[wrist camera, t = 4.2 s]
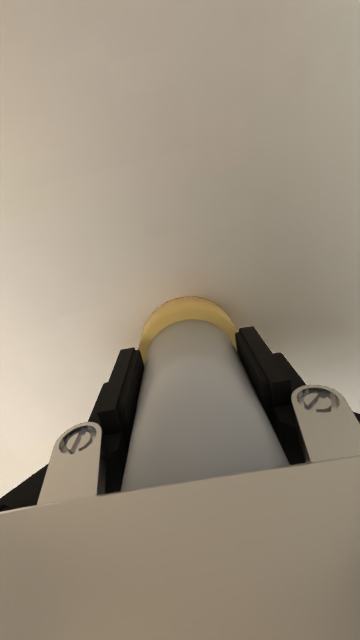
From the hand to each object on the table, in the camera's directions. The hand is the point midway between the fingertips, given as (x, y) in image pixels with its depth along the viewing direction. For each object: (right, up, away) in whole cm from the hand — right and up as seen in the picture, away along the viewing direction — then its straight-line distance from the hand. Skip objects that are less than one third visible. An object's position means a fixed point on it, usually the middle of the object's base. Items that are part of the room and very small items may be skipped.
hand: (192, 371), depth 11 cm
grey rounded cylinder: (0, +1, +3) cm, 3 cm away
